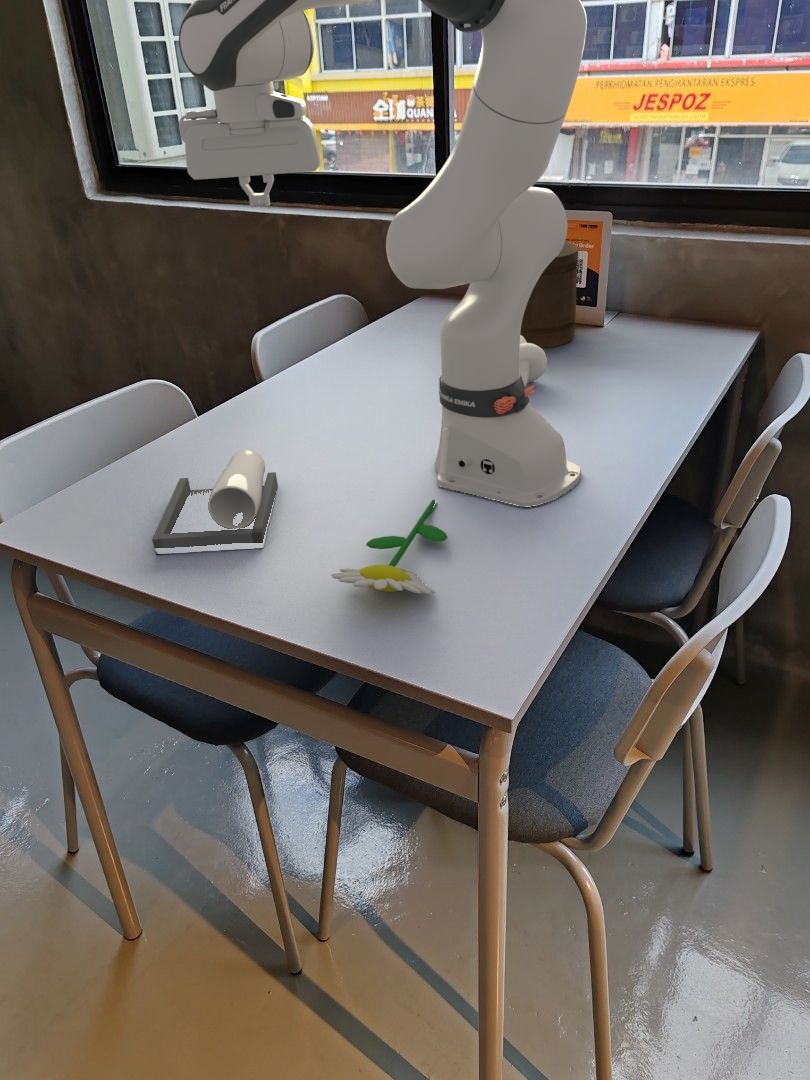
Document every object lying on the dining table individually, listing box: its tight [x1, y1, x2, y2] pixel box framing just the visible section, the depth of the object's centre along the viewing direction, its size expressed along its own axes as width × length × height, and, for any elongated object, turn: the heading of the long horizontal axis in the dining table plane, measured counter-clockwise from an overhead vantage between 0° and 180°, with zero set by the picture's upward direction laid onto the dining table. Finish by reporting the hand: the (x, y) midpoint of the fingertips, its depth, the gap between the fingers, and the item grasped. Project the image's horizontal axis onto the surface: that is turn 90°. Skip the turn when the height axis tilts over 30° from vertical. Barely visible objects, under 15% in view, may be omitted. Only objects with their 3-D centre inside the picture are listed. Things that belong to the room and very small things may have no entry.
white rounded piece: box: [519, 335, 548, 388], centre depth 150 cm, size 11×12×9 cm
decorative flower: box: [330, 499, 449, 596], centre depth 104 cm, size 13×5×30 cm
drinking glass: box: [208, 448, 266, 529], centre depth 118 cm, size 7×7×15 cm
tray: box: [151, 471, 279, 548], centre depth 116 cm, size 17×14×2 cm
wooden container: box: [520, 241, 579, 349], centre depth 169 cm, size 15×15×22 cm
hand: (260, 206), depth 129 cm, fingers closed
